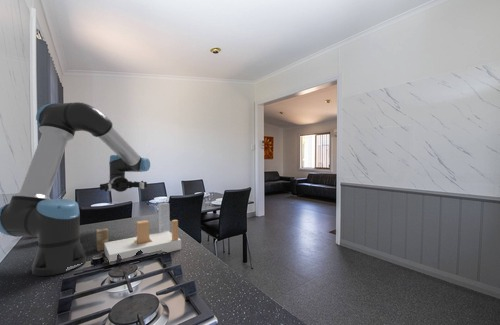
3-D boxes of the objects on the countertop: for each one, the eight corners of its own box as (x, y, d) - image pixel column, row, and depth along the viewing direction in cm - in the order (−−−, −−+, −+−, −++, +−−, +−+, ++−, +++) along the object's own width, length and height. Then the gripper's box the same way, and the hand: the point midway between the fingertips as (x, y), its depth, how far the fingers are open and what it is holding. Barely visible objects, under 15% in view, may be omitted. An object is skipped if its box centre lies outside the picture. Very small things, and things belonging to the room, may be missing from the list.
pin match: (139, 253, 98) (138, 223, 98) (137, 250, 101) (136, 221, 101) (149, 251, 100) (149, 222, 100) (147, 248, 104) (146, 220, 103)
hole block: (109, 266, 87) (108, 232, 86) (104, 252, 99) (103, 223, 99) (181, 249, 102) (180, 220, 102) (168, 239, 115) (168, 213, 115)
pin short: (97, 251, 101) (97, 231, 101) (96, 248, 105) (96, 229, 105) (108, 248, 104) (108, 229, 104) (107, 246, 107) (107, 227, 107)
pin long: (161, 238, 117) (160, 204, 117) (159, 236, 120) (158, 203, 120) (170, 236, 119) (169, 203, 119) (167, 234, 123) (166, 202, 122)
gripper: (145, 189, 136) (155, 192, 119) (91, 193, 122) (95, 197, 104) (145, 176, 136) (155, 177, 119) (91, 177, 122) (95, 180, 105)
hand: (127, 186), depth 112 cm, fingers open, 13 cm apart
